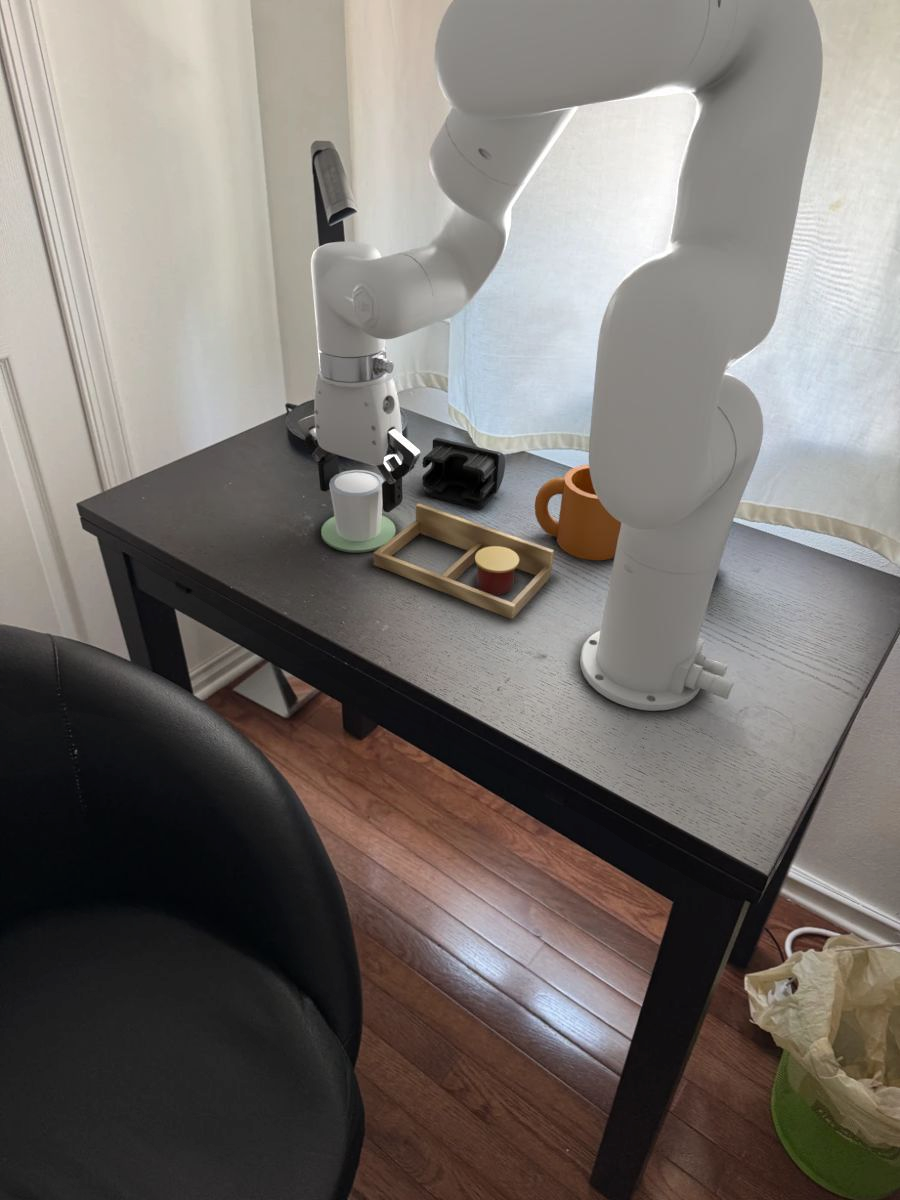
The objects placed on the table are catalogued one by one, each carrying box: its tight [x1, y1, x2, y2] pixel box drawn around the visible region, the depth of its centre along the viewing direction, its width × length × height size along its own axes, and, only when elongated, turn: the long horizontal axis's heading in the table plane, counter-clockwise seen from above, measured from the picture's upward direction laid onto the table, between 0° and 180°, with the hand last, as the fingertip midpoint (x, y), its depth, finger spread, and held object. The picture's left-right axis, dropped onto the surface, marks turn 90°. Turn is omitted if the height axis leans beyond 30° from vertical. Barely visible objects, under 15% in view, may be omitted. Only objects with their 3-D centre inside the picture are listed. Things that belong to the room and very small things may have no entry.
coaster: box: [320, 514, 397, 554], centre depth 103 cm, size 10×10×1 cm
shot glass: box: [329, 469, 385, 541], centre depth 101 cm, size 7×7×7 cm
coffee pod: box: [474, 546, 519, 595], centre depth 94 cm, size 5×5×4 cm
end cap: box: [421, 437, 506, 510], centre depth 110 cm, size 10×7×7 cm
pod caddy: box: [372, 503, 555, 620], centre depth 95 cm, size 19×10×4 cm, turn 59°
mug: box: [534, 464, 621, 561], centre depth 101 cm, size 9×12×9 cm
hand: (360, 497), depth 99 cm, fingers open, 9 cm apart
